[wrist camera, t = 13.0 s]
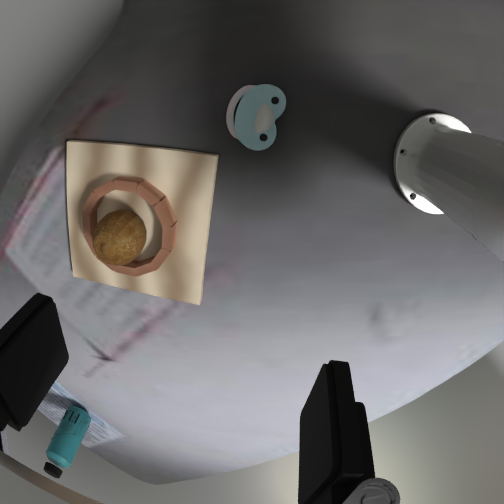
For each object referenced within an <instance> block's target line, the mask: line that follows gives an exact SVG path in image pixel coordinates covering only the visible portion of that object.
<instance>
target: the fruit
mask: <svg viewBox="0 0 504 504" xmlns="http://www.w3.org/2000/svg"><path fill="white" fill-rule="evenodd" d="M146 237H147V230H146V227H145V224H144V221H143V220H142V219H141V217H140V216H139V215H137V214H136V213H134V212H132V211H130V210H123V209H120V210H116V211H112V212H110V213H108V214H106V215H105V216H104V217H103V218H102V219H101V220H100V221H99V222H98V223H97V225H96V227H95V230H94V233H93V238H92V241H93V248H94V250H95V253H96V255H97V256H98V257H99V258H100V260H102V261H103V262H105V263H107V264H109V265H114V266H119V265H124V264H128V263H130V262H131V261H133V260H134V259H135V258H136V257H138V256H139V255H140V253H141V252H142V250H143V248H144V246H145V243H146Z"/></svg>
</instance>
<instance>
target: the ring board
mask: <svg viewBox="0 0 504 504" xmlns="http://www.w3.org/2000/svg"><path fill="white" fill-rule="evenodd" d="M218 158H219V155H217V154H210V153H203V152H196V151H188V150H181V149H172V148H164V147H155V146H145V145H135V144H124V143H111V142H98V141H81V140H70V141H67V209H68V226H69V239H70V250H71V260H72V268H73V276H75V277H79V278H83V279H87V280H91V281H95V282H99V283H103V284H107V285H111V286H115V287H119V288H124V289H128V290H132V291H137V292H141V293H146V294H150V295H155V296H159V297H164V298H169V299H173V300H178V301H183V302H188V303H193V304H198V305H200V303H201V300H202V289H203V280H204V270H205V261H206V252H207V243H208V235H209V226H210V218H211V210H212V202H213V195H214V187H215V180H216V173H217V165H218ZM120 209H123V210H130V211H132V212H134V213H136V214H137V215H139V216H140V217H141V219H142V220H143V221H144V224H145V227H146V230H147V237H146V243H145V246H144V248H143V250H142V252H141V253H140V255H139V256H138V257H136V258H135V259H134V260H133V261H131V262H130V263H128V264H124V265H119V266H114V265H109V264H107V263H105V262H103V261H102V260H100V258H99V257H98V256H97V255H96V253H95V250H94V248H93V241H92V238H93V233H94V230H95V227H96V225H97V223H98V222H99V221H100V220H101V219H102V218H103V217H104V216H105V215H106V214H108V213H110V212H112V211H116V210H120Z"/></svg>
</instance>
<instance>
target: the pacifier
mask: <svg viewBox="0 0 504 504" xmlns="http://www.w3.org/2000/svg"><path fill="white" fill-rule="evenodd" d="M273 97H278V98H279V103H278V104H273V103H272V102H271V99H272V98H273ZM241 98H242V99H241ZM240 99H241V101H240V103H239V105H238V108H237V111H236V116H235V122H234V113H235V108H236V106H237V104H238V102H239V100H240ZM285 106H286V98H285V95H284V93H283V92H282V91H281V90H280V89H279V88H278V87H276V86H274V85H270V84H261V85H257V86H256V85H247V86H244V87H242V88H241V89H239V90H238V91H237V92H236V93H235V94H234V96H233V97H232V99H231V100H230V103H229V105H228V109H227V114H226V123H227V127H228V130H229V132H230V134H231V135H232V136H233V137H234V138H236V139H238V140H240V142H241V143H242V144H243V145H244V146H246V147H247V148H249V149H252V150H256V151H259V150H264V149H266V148H268V147H270V146H271V145H272V144H273V142H274V140H275V138H276V125H275V120H276V119H277V118H278V117H279V116H280V115H281V114H282V113H283V111H284V109H285ZM261 134H266V135H267V137H268V138H267V140H266V141H261V140H260V135H261Z"/></svg>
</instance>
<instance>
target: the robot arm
mask: <svg viewBox="0 0 504 504" xmlns="http://www.w3.org/2000/svg"><path fill="white" fill-rule="evenodd" d="M429 119H431V121H430V122H429ZM401 149H402V150H403V152H402V153H400V151H401ZM393 166H394V175H395V179H396V182H397V185H398V187H399V189H400V191H401V192H402V194H403V196H404V197H405V198H406V199H407V200H408V201H409V202H410V203H411V204H412V205H413V206H415V207H416V208H417V209H419V210H421V211H423V212H426V213H430V214H445V215H447V216H448V217H449V218H450V219H452V220H453V221H454V222H455V223H457V224H458V225H459V226H460V227H461V228H463V229H464V230H465V231H466V232H467V233H469V234H470V235H471V236H472V237H473V238H475V239H476V240H477V241H478V242H479V243H480V244H481V245H483V246H484V247H485V248H486V249H487V250H488V251H490V252H491V253H492V254H493V255H494V256H495V257H497V258H498V259H500V260H501V261H503V262H504V142H503V141H500V140H496V139H493V138H489V137H485V136H482V135H478V134H474V133H472V132H471V131H470V130H469V128H468V127H467V126H466V125H465V124H464V123H463V122H461V121H460V120H459V119H457V118H455V117H453V116H450V115H447V114H442V113H429V114H426V115H422V116H420V117H418V118H417V119H415V120H413V121H412V122H411V123H410V124H409V125H408V126H407V127H406V128H405V129H404V131H403V132H402V133H401V135H400V137H399V139H398V141H397V144H396V148H395V151H394V159H393ZM411 193H412V195H411V196H410V194H411ZM68 359H69V355H68V351H67V347H66V344H65V340H64V337H63V333H62V329H61V325H60V321H59V317H58V313H57V308H56V304H55V303H54V302H53V299H52V298H51V297H49V296H46V295H43V294H40V293H36V294H35V295H34V296H33V297H32V298H31V299H30V300H29V301H28V302H27V303H26V304H25V305H24V306H23V307H22V308H21V309H20V310H19V311H18V312H17V313H16V314H15V315H14V316H13V317H12V318H11V319H10V320H9V321H8V322H7V323H6V324H5V325H4V326H3V327H2V328H1V329H0V504H103V503H100V502H98V501H95V500H93V499H91V498H88V497H86V496H84V495H81V494H79V493H77V492H74V491H72V490H70V489H68V488H66V487H64V486H62V485H60V484H58V483H56V482H54V481H52V480H50V479H48V478H46V477H44V476H42V475H41V474H39V473H37V472H35V471H33V470H32V469H30V468H28V467H26V466H25V465H23V464H21V463H20V462H18V461H16V460H15V459H13V458H11V457H10V456H9V451H8V445H7V439H6V432H5V427H6V425H7V424H8V425H9V426H11V427H12V428H14V429H15V430H17V431H20V430H21V428H22V427H24V426H26V425H27V424H28V422H29V421H30V419H31V417H32V416H33V414H34V413H35V411H36V410H37V408H38V406H39V405H40V403H41V402H42V400H43V399H44V397H45V396H46V394H47V392H48V391H49V389H50V388H51V386H52V385H53V383H54V382H55V380H56V379H57V377H58V376H59V374H60V373H61V372H62V370H63V369H64V367H65V366H66V364H67V362H68ZM298 504H400V495H399V492H398V490H397V488H396V487H395V486H394V485H393V484H392V483H391V482H390V481H387V480H385V479H381V478H375V472H374V464H373V456H372V449H371V442H370V435H369V429H368V422H367V416H366V410H365V406H364V404H363V403H361V402H355V398H354V391H353V385H352V379H351V373H350V367H349V363H348V362H343V361H335V360H330V361H329V363H328V364H323V365H322V368H321V370H320V372H319V374H318V377H317V379H316V381H315V384H314V386H313V388H312V390H311V392H310V395H309V397H308V399H307V401H306V403H305V405H304V407H303V409H302V412H301V416H300V451H299V489H298Z"/></svg>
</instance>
